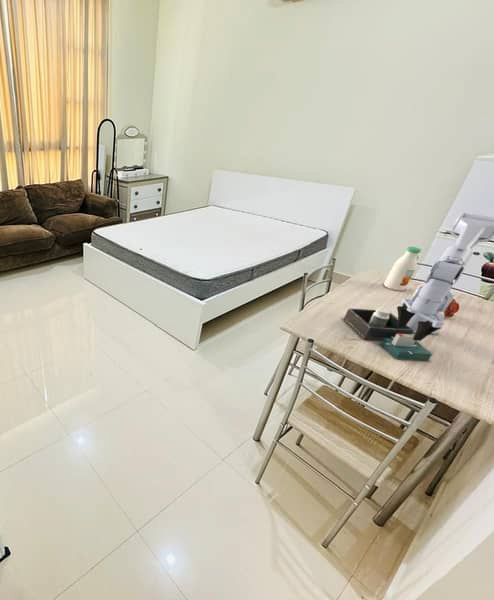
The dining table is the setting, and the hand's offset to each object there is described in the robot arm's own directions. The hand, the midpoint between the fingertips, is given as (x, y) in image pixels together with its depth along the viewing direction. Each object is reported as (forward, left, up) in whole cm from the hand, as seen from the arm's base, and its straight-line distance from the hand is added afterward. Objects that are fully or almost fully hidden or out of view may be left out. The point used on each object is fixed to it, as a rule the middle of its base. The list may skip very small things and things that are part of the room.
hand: (408, 333), depth 107 cm
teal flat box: (-2, 0, -8) cm, 8 cm away
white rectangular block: (0, 0, -5) cm, 5 cm away
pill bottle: (0, -13, -7) cm, 15 cm away
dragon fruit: (-35, -29, -8) cm, 46 cm away
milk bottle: (-33, -53, -8) cm, 63 cm away
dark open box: (0, -13, -8) cm, 15 cm away
